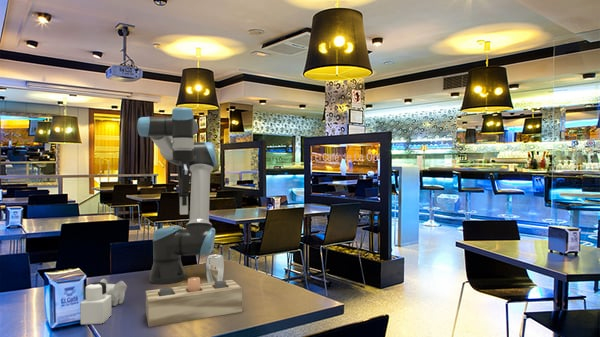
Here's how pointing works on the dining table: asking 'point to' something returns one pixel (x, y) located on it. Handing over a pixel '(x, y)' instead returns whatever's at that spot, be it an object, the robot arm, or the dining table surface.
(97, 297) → the medicine bottle
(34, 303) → the dining table surface
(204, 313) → the socket block
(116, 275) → the dining table surface
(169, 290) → the black plug near
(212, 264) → the beer glass
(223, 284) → the black plug far
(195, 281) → the terracotta plug
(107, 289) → the elephant figurine
